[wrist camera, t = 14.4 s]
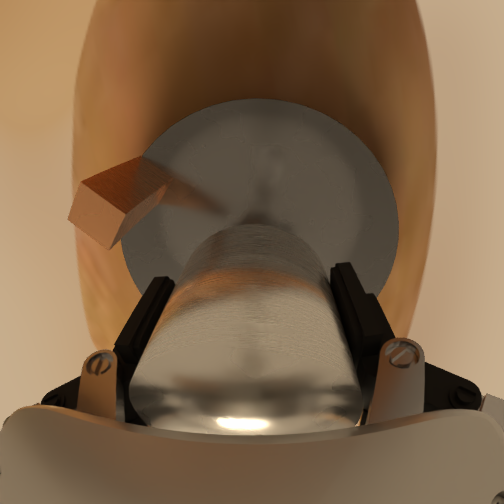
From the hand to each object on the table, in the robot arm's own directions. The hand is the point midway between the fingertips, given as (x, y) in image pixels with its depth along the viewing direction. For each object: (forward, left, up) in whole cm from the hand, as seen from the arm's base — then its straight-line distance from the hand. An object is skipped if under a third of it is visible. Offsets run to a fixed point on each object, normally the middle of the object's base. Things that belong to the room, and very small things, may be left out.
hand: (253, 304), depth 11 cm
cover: (0, 0, -1) cm, 1 cm away
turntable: (0, 0, -6) cm, 6 cm away
